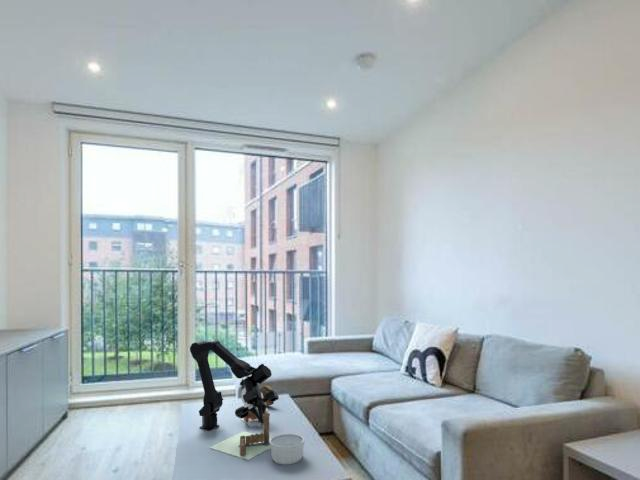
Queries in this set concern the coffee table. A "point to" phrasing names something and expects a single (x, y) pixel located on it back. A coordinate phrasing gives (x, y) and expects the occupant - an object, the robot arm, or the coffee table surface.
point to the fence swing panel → (261, 436)
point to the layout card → (233, 446)
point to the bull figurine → (253, 416)
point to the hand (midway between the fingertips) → (262, 423)
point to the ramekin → (287, 448)
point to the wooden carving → (266, 389)
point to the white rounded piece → (246, 402)
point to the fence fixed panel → (242, 445)
